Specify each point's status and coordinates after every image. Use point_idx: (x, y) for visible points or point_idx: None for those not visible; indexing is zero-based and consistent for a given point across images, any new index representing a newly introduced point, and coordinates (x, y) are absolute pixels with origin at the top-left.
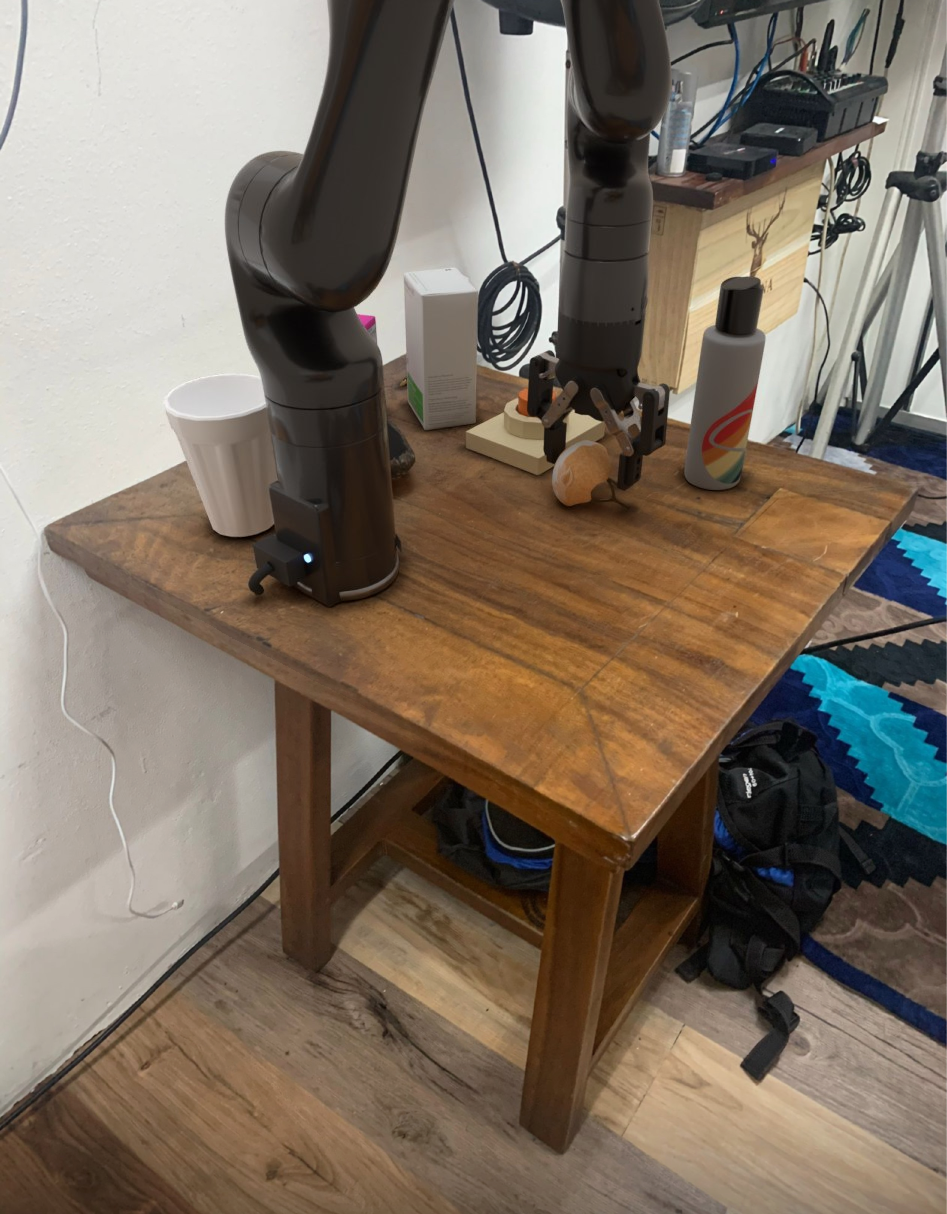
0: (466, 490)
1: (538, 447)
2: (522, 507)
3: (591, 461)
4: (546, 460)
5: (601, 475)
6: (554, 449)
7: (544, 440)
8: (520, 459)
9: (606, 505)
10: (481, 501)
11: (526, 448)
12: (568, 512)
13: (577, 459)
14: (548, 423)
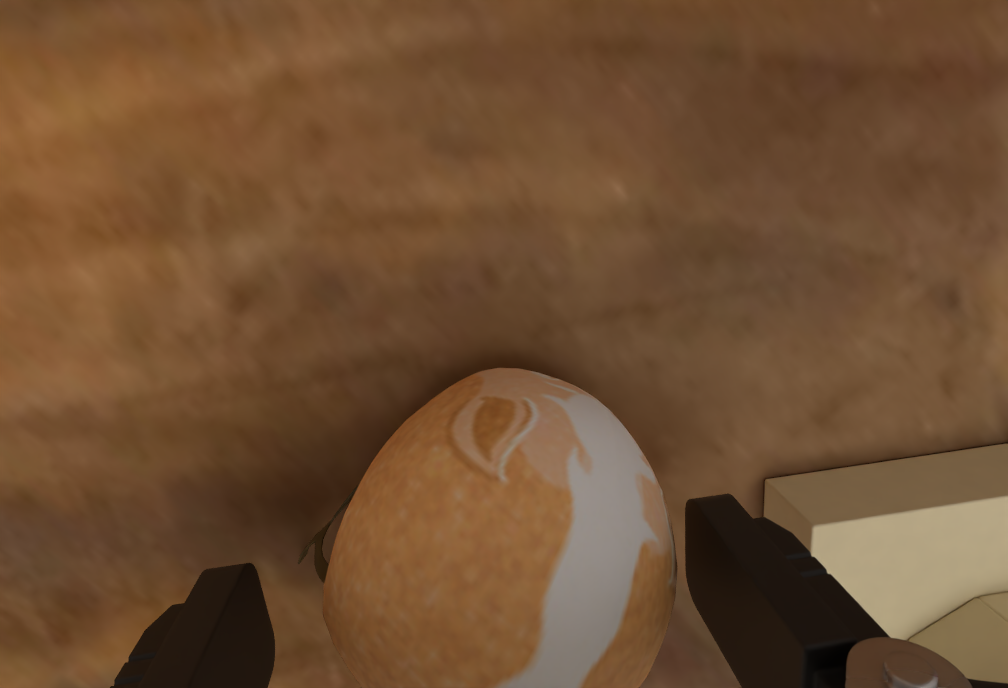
0: (940, 160)
1: (873, 590)
2: (643, 240)
3: (398, 595)
4: None
5: (337, 565)
6: (724, 561)
7: (825, 575)
8: (888, 488)
9: None
10: (824, 136)
11: (912, 547)
12: (464, 359)
13: (482, 549)
14: (881, 678)
